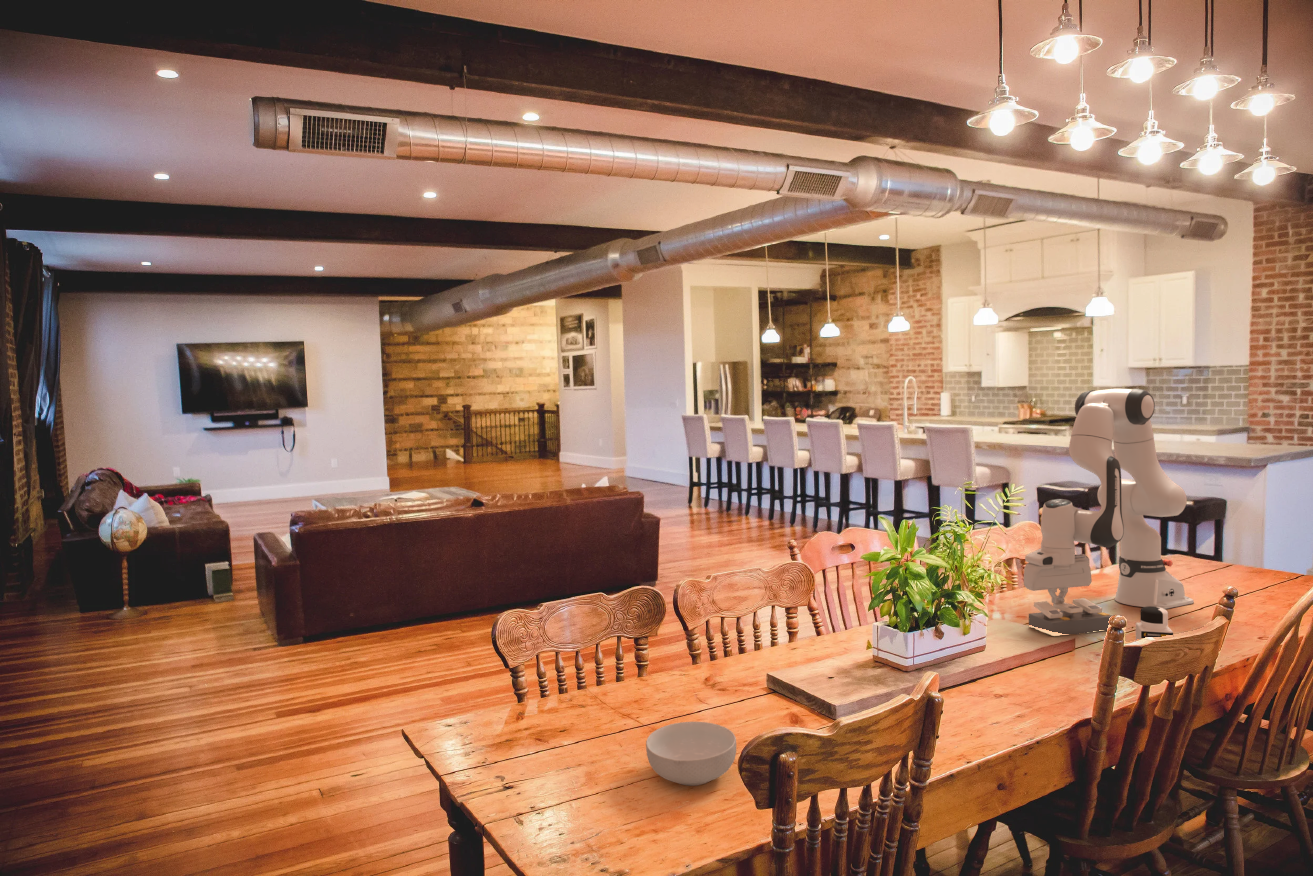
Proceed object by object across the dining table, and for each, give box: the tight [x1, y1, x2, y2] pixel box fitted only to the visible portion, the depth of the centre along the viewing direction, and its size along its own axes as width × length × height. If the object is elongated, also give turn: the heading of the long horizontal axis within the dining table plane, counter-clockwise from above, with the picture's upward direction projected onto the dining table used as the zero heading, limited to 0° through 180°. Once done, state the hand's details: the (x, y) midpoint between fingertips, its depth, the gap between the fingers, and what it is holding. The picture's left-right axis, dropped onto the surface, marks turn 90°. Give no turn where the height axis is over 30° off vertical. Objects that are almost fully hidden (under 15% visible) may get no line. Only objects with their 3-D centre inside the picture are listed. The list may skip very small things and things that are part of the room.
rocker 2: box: [1052, 602, 1083, 613], centre depth 232 cm, size 4×7×1 cm, turn 13°
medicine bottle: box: [1135, 606, 1174, 641], centre depth 209 cm, size 7×7×12 cm
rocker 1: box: [1033, 600, 1063, 619], centre depth 231 cm, size 4×7×1 cm, turn 13°
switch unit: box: [1028, 609, 1113, 635], centre depth 233 cm, size 20×10×5 cm, turn 103°
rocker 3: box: [1071, 597, 1103, 613], centre depth 234 cm, size 4×7×1 cm, turn 13°
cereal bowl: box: [645, 721, 737, 787], centre depth 151 cm, size 17×17×7 cm
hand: (1057, 603), depth 236 cm, fingers closed, pressing on rocker 2
